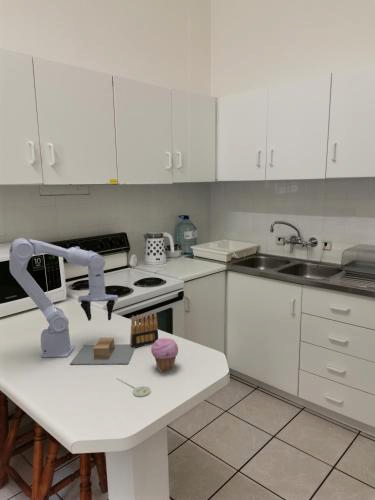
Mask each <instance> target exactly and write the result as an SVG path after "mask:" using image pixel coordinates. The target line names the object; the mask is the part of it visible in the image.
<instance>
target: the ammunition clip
mask: <svg viewBox="0 0 375 500" xmlns="http://www.w3.org/2000/svg"><path fill="white" fill-rule="evenodd" d="M152 314H153V315H152ZM157 317H158V316H157V313H156V311H154V313H152V312H150V313H149V316H148V313H145V315H144V314H142V313H141V315H140V317H139V314H137V315H136V317H135V315H132V317H131V326H130V339H129V340H130V342H129V343H130V346H131V347H132V348H133V347H135V348H138V347H142V346H146V345H153V344H154V342H155V341H156V340H158V339H159V329H158V319H157Z"/></svg>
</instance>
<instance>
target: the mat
mask: <svg viewBox="0 0 375 500" xmlns="http://www.w3.org/2000/svg"><path fill="white" fill-rule="evenodd" d="M95 345H96V344H83V345H82V347H81V348H80V349H79V351H78V352H77V354H76V355H75V356H74V358H73V359H72V360H71V361H70V363H69V365H70V366H95V365H97V366H99V365H101V366H102V365H103V366H104V365H105V366H106V365H107V366H108V365H110V366H111V365H112V366H113V365H115V366H116V365H117V366H118V365H120V366H121V365H124V366H126V365H129V363H130V361H131V359H132V356H133V354H134V351H135V350H136V347H133V348H132V347H131V346H130V344H129V343H128V344H126V343H125V344H121V343H120V344H115V343H114V345H115V348H114V350H113V352H112V354H111V355H110V357H109V359H94V351H93V348H94V347H95Z"/></svg>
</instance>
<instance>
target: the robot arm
mask: <svg viewBox="0 0 375 500" xmlns="http://www.w3.org/2000/svg"><path fill="white" fill-rule="evenodd" d="M8 253H9V272H10V274H11V276H13V278H14V279H15V280H16V282H17V283H18V284H19V285H20V286H21V288H22V289H23V290H24V291H25V293H26V294H27V295H28V296H29V297H30V299H31V300H32V302H33V303H34V304H35V305H36V306H37V308H38V309H39V310H40V311H41V312H42V314H43V315H44V317H45V319H46V321H47V323H48V324H49V325H48V327H47V328H44V329H43V330H42V331H41V334H40V346H41V358H68V356H69V355H70V354H71V353H72V351H73V350H74V349H75V346H74V345H71V341H70V339H71V338H70V329H69V325H70V324H69V318H68V317H67V316H66V315H65V313H64V311H63V310H62V309H60V308H58V307H57V306H55V304H54V302H52V300H51V299H50V298H49V296H47V294H46V293H45V292H44V290H43V289H42V288H41V287H40V285H39V284H38V283H37V282H36V280H35V279H34V277H32V275H31V274H30V273H29V271H28V269H27V268H28V264H29V261H30V259H31V258H32V257H33V256H39V255H41V254H46V255H50V256H55V257H60V258H65V260H66V263H70V264H74V265H77V266H79V267H87V272H88V273H87V275H88V276H87V277H88V290H89V294H88V295H79V296H78V297H77V300H78V301H77V302H78V303H80V307H81V308H82V309H83V311H84V314H85V316H86V317H87V318H86V319H87V322H88V321H89V322H91V320H92V311H91V302H92V303H93V302H106V310H107V320H108V321H111V319H112V315H113V309H114V306H115V303H116V302H118V300H119V296H118V295H117V294H107V293H106V282H105V272H104V267H105V265H106V260H105V258H104V257H103V256H102V255H101V254H99V253H97V252H95V251H93V250H85V249H81V247H80V246H77V245H76V246H72V247H69V248H65V247H61V246H58V245H55V244H52V243H48V242H45V241H41V240H35V239H31V238H28V239H27V238H26V237H18V238H16V239H14V240H13V241H12V242H11V245H10V248H9V251H8Z"/></svg>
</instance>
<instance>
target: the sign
mask: <svg viewBox="0 0 375 500" xmlns="http://www.w3.org/2000/svg"><path fill="white" fill-rule="evenodd" d="M115 379H116V380H118V381H120V382H121V383H123V384H125V385H126V386H129V387H130V388H132V389H133V390H132V394H133V396H134V397H136V398H145V397H148V396H149V395H150V394H151V392H152V390H151V387H149V386H146V385H141V386H137V387H134V386H133V385H131V384H129V383H127V382H125V381H123V380H121V379H120V378H117V377H116V378H115Z"/></svg>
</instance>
